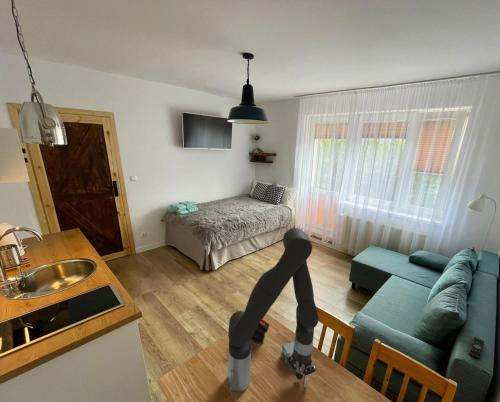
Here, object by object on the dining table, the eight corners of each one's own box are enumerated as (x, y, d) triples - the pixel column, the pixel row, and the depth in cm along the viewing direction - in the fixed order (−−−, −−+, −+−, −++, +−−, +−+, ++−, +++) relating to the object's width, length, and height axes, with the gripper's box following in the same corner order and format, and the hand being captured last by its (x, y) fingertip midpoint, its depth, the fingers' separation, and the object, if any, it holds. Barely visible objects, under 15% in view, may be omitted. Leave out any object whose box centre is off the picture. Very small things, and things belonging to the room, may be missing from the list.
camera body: (285, 369, 102) (286, 357, 101) (279, 354, 109) (279, 344, 107) (307, 362, 106) (308, 351, 104) (300, 349, 112) (301, 338, 110)
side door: (306, 387, 95) (307, 379, 93) (303, 386, 95) (304, 378, 94) (311, 363, 105) (312, 355, 104) (308, 362, 106) (309, 354, 104)
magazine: (239, 328, 122) (251, 311, 116) (260, 343, 119) (273, 326, 114) (236, 333, 118) (249, 316, 113) (257, 349, 116) (271, 332, 110)
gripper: (285, 347, 92) (282, 378, 97) (317, 361, 87) (313, 393, 92) (290, 333, 99) (287, 363, 104) (320, 345, 93) (316, 376, 98)
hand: (299, 377), depth 98 cm, fingers closed
